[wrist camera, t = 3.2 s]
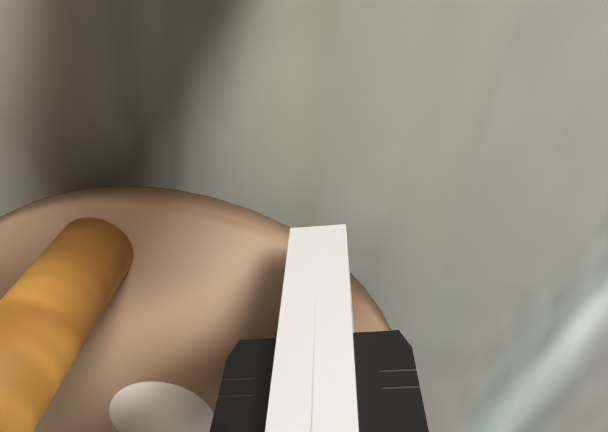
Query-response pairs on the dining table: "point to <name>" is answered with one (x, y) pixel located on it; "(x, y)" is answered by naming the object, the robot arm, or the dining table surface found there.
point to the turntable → (135, 307)
